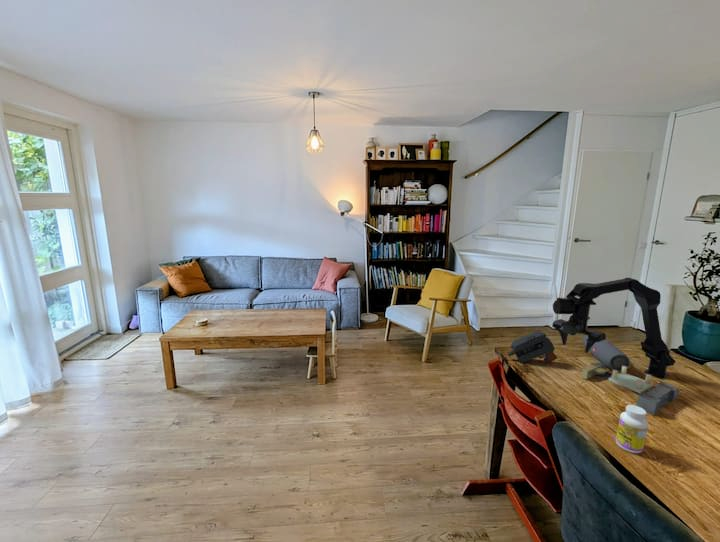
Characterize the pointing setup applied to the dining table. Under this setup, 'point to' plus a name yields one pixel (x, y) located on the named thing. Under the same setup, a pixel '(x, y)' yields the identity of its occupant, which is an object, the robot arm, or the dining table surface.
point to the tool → (533, 347)
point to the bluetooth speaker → (608, 354)
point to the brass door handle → (593, 370)
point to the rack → (631, 380)
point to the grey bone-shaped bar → (657, 398)
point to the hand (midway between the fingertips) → (574, 348)
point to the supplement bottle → (632, 429)
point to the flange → (603, 375)
